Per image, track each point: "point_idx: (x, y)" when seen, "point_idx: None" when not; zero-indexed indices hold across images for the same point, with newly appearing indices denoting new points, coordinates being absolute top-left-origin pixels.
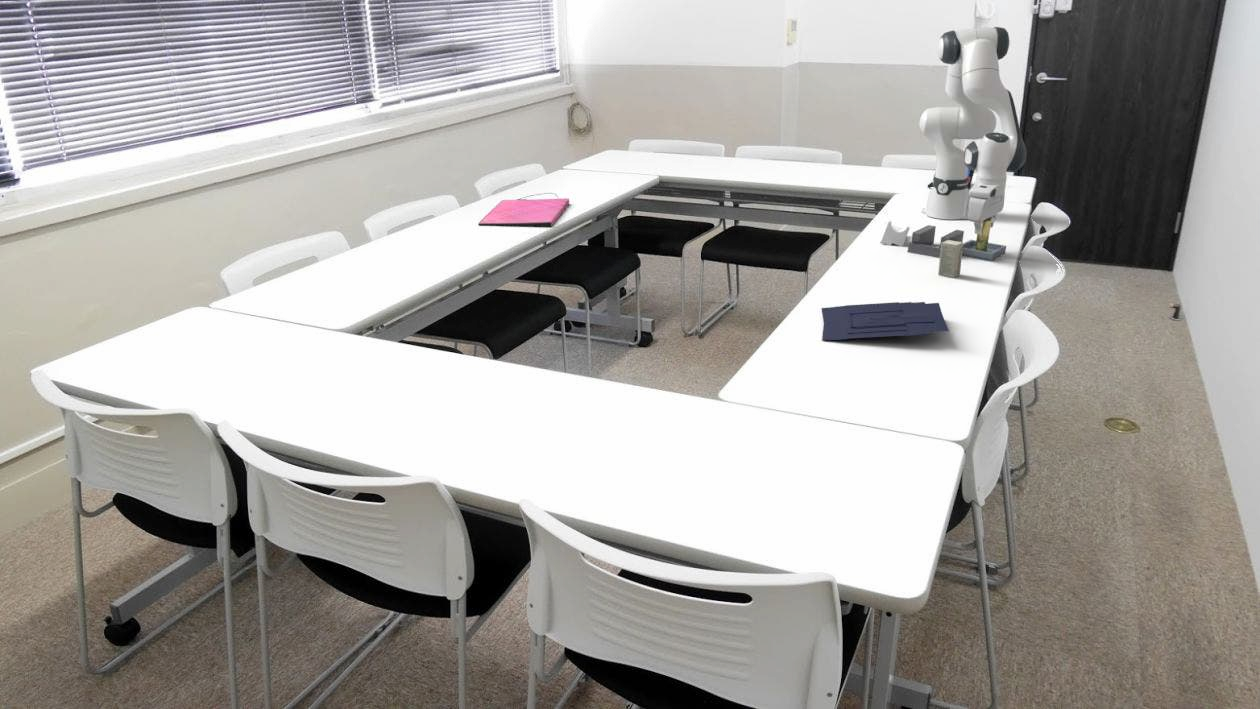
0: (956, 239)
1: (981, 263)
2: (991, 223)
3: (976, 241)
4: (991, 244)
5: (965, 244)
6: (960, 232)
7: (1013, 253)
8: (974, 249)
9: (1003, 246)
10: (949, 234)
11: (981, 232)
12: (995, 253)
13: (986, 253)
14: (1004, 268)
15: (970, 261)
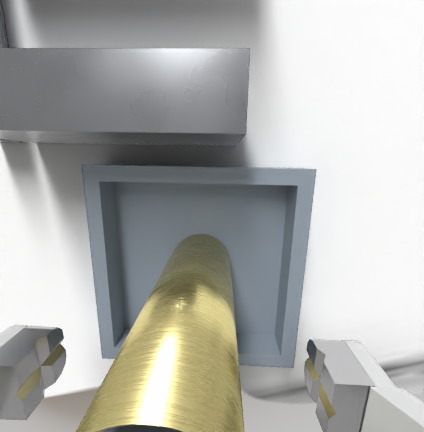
0: (109, 136)
1: (66, 306)
2: (321, 425)
3: (169, 263)
4: (285, 298)
5: (188, 182)
6: (172, 128)
7: (302, 361)
8: (220, 223)
9: (271, 360)
10: (33, 70)
11: (50, 375)
12: None
13: (100, 328)
14: (68, 389)
15: (59, 260)
